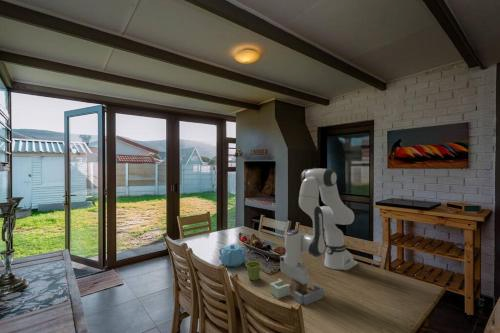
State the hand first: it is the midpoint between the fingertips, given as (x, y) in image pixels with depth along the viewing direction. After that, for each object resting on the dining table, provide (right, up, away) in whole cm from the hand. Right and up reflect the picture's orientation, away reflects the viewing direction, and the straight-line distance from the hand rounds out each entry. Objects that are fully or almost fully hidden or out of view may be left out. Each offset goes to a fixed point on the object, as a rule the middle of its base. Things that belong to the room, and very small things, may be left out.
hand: (294, 285), depth 135 cm
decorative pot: (-36, -3, +37) cm, 52 cm away
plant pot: (-22, -3, +14) cm, 26 cm away
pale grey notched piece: (-3, -2, -1) cm, 3 cm away
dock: (+6, -1, -10) cm, 12 cm away
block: (+2, -1, -5) cm, 5 cm away
